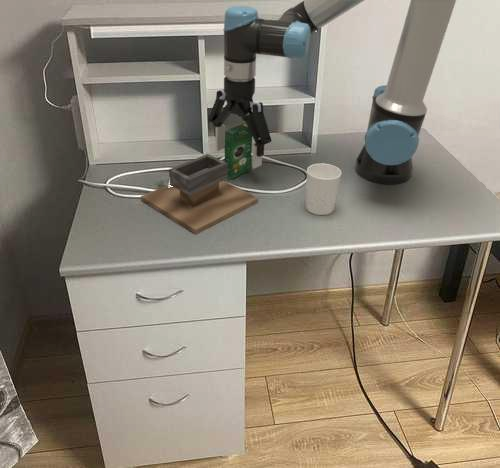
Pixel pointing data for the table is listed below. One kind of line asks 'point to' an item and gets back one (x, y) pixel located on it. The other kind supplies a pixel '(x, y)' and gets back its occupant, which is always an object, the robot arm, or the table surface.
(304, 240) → the table surface
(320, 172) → the white cup
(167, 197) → the display stand
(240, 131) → the coffee box
